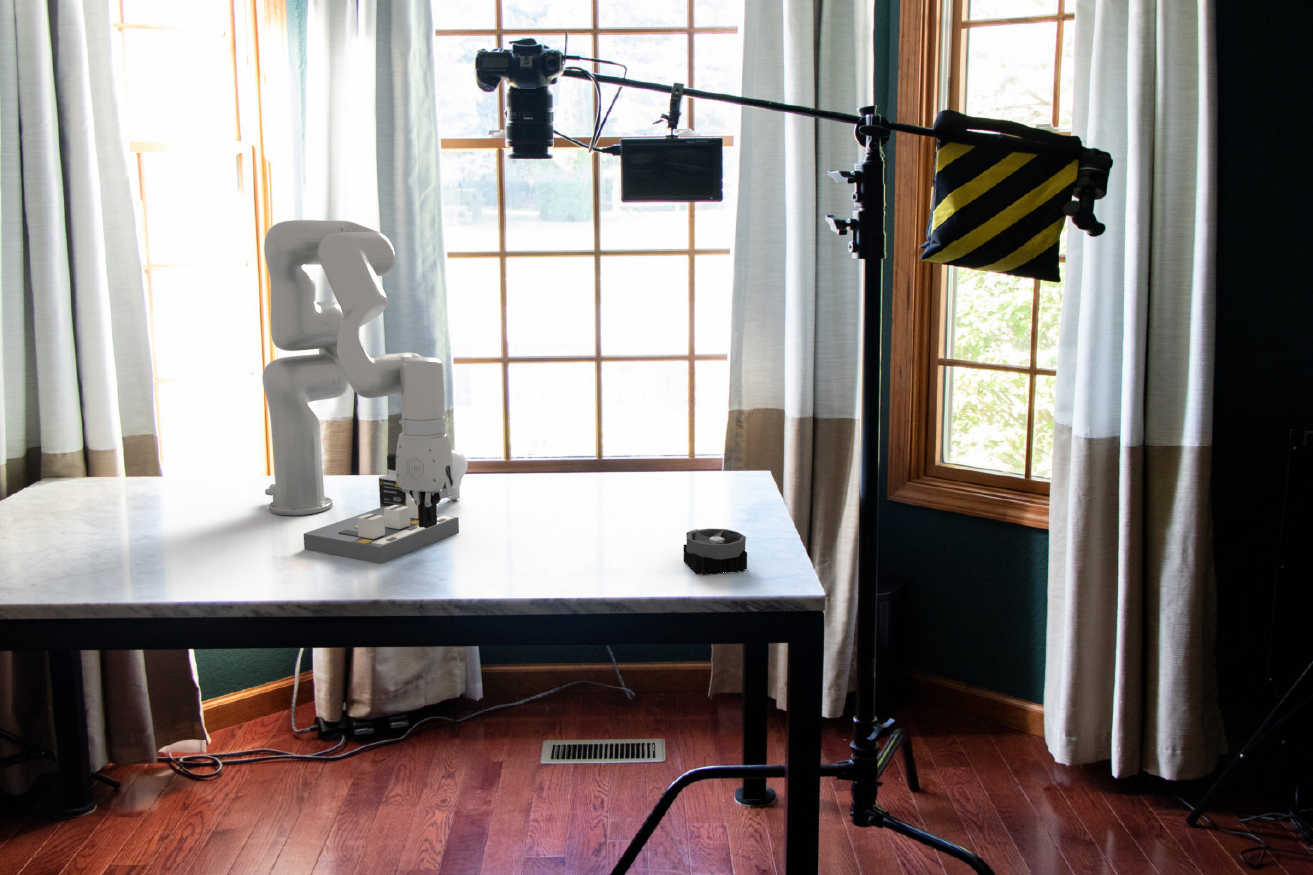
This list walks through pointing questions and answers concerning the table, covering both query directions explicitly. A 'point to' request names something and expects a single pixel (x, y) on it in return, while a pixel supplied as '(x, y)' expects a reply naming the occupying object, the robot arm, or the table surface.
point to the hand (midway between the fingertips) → (427, 525)
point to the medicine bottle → (392, 486)
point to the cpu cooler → (715, 551)
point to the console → (379, 550)
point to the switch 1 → (371, 526)
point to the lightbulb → (457, 473)
